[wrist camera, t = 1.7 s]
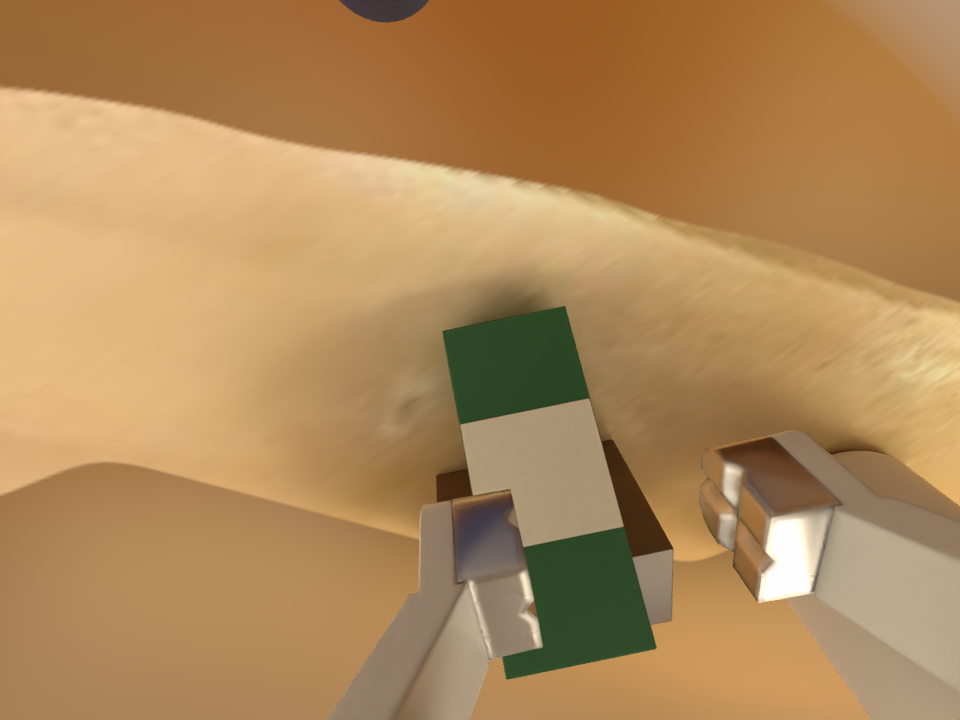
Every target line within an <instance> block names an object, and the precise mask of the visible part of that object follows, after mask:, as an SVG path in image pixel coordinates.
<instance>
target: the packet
mask: <svg viewBox="0 0 960 720" xmlns="http://www.w3.org/2000/svg"><path fill="white" fill-rule="evenodd" d="M443 338H444V343H445V349H446V354H447V360H448V365H449V371H450V376H451V381H452V387H453V392H454V398H455V403H456V409H457V414H458V420H459V425H460V431H461V436H462V441H463V447H464V452H465V458H466V463H467V469H468V474H469V480H470V485H471V491H472V496H473V495H479V494H485V493H490V492H496V491H501V490H507V489H511V493H512V498H513V502H514V506H515V511H516V516H517V521H518V526H519V529H520V534H521V539H522V543H523V548H524V553H525V558H526V563H527V567H528V572H529V577H530V582H531V587H532V591H533V596H534V603H535V608H536V612H537V617H538V622H539V628H540V633H541V639H542V644H543V647H541V648H537V649H533V650H529V651H525V652H520V653H516V654H512V655H508V656H503V657H502V659H503V665H504V670H505V676H506V679H512V678H517V677H523V676H527V675H532V674H537V673H541V672H547V671H551V670H556V669H562V668H566V667H571V666H576V665H581V664H586V663H591V662H596V661H600V660H605V659H610V658H615V657H620V656H624V655H629V654H635V653H639V652H644V651H649V650H654V649H656V644H655V640H654V636H653V632H652V629H651V625H650V621H649V617H648V614H647V610H646V606H645V603H644V599H643V595H642V591H641V588H640V584H639V580H638V576H637V573H636V569H635V565H634V561H633V558H632V554H631V550H630V547H629V543H628V539H627V535H626V532H625V528H624V524H623V520H622V517H621V513H620V509H619V505H618V502H617V498H616V494H615V491H614V487H613V483H612V479H611V476H610V472H609V468H608V464H607V461H606V457H605V453H604V450H603V446H602V442H601V438H600V435H599V431H598V427H597V423H596V420H595V416H594V412H593V408H592V405H591V401H590V397H589V394H588V390H587V386H586V382H585V379H584V375H583V371H582V367H581V364H580V360H579V356H578V352H577V349H576V345H575V341H574V338H573V334H572V330H571V326H570V323H569V319H568V315H567V311H566V308H565V306H564V307H559V308H554V309H549V310H544V311H539V312H534V313H529V314H524V315H519V316H514V317H509V318H505V319H500V320H495V321H490V322H485V323H480V324H475V325H470V326H465V327H460V328H455V329H450V330H445V331H443Z"/></svg>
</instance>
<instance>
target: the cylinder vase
mask: <svg viewBox="0 0 960 720" xmlns="http://www.w3.org/2000/svg"><path fill="white" fill-rule="evenodd" d="M832 456H833V457H834V458H836V459H837V460H838V461H839V462H840V463H842V464H843V465H844V466H845V467H846V468H847V469H849V470H850V471H851V472H852V473H853V474H854V475H856V476H857V477H858V478H859V479H860V480H862V481H863V482H864V483H865V484H866V485H867V486H869V487H870V488H871V489H872V490H873V491H874V492H876V493H877V494H878V495H879V496H880V497H886V496H894V497H897V498H900V499H902V500H905V501H908V502H910V503H913V504H916V505H919V506H921V507H924V508H927V509H929V510H932V511H935V512H937V513H940V514H943V515H946V516H948V517H951V518H954V519H956V520H959V521H960V506H959V505H958V504H956V503H955V502H954V501H952V500H951V499H950V498H948V497H947V496H946V495H944V494H943V493H942V492H940V491H939V490H938V489H936V488H935V487H934V486H932V485H931V484H930V483H928V482H927V481H926V480H924V479H923V478H922V477H920V476H919V475H918V474H916V473H915V472H914V471H912V470H911V469H910V468H908V467H907V466H906V465H904V464H903V463H902V462H900V461H899V460H897V459H895V458H893V457H891V456H888V455H886V454H882V453H878V452H872V451H847V452H841V453H836V454H832ZM784 599H785V600H786V602H787V603H788V605H789V606H790V607H791V609H792V610H793V612H794V613H795V614H796V616H797V617H798V618H799V620H800V621H801V623H802V624H803V625H804V627H805V628H806V629H807V631H808V632H809V634H810V635H811V636H812V638H813V639H814V640H815V642H816V643H817V645H818V646H819V647H820V649H821V650H822V651H823V652H824V654H825V656H826V657H827V658H828V660H829V661H830V662H831V664H832V665H833V667H834V668H835V669H836V671H837V672H838V673H839V675H840V676H841V678H842V679H843V680H844V682H845V683H846V684H847V686H848V687H849V689H850V690H851V691H852V693H853V694H854V695H855V697H856V698H857V700H858V701H859V702H860V704H861V705H862V707H863V708H864V709H865V711H866V712H867V713H868V715H869V716H870V718H871V719H872V720H957V718H958V716H959V715H960V692H958V691H957V690H955V689H953V688H952V687H950V686H949V685H947V684H946V683H944V682H943V681H941V680H940V679H938V678H937V677H935V676H934V675H932V674H931V673H929V672H928V671H926V670H925V669H923V668H922V667H920V666H919V665H917V664H916V663H914V662H913V661H911V660H910V659H908V658H907V657H905V656H903V655H902V654H900V653H899V652H897V651H896V650H894V649H893V648H891V647H890V646H888V645H887V644H885V643H884V642H882V641H881V640H879V639H878V638H876V637H875V636H873V635H872V634H870V633H869V632H867V631H866V630H864V629H863V628H861V627H860V626H858V625H856V624H855V623H853V622H852V621H850V620H849V619H847V618H846V617H844V616H843V615H841V614H840V613H838V612H837V611H835V610H834V609H832V608H831V607H829V606H828V605H826V604H825V603H823V602H822V601H820V600H819V599H817V598H816V597H814V593H812V594H806V595H800V596H795V597H789V598H784Z"/></svg>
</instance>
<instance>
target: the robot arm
mask: <svg viewBox="0 0 960 720" xmlns="http://www.w3.org/2000/svg"><path fill="white" fill-rule="evenodd" d="M701 468H702V469H703V471H704V472H705V473H706V475H707V476H708V478H707V479H706V480H705V482H704V483H703V484H702V485H701V487H700V505H701V509H702V513H703V517H704V520H705V522H706V524H707V526H708V528H709V530H710V532H711V534H712V535H713V537H714V538H715V540H716V541H717V543H718V544H720V545H722V546H724V547H725V548H727V549H729V550H731V551H733V552H734V560H733V567H734V568H735V570H736V571H737V573H738V574H739V576H740V577H741V579H742V580H743V582H744V583H745V585H746V586H747V588H748V589H749V591H750V592H751V594H752V595H753V597H755V599H756V601H757V602H758V603H760V602H766V601H772V600H777V599H783V598H789V597H795V596H800V595H806V594H812V593H814V597H816V598H817V599H819V600H820V601H822V602H823V603H825V604H826V605H828V606H829V607H831V608H832V609H834V610H835V611H837V612H838V613H840V614H841V615H843V616H844V617H846V618H847V619H849V620H850V621H852V622H853V623H855V624H856V625H858V626H860V627H861V628H863V629H864V630H866V631H867V632H869V633H870V634H872V635H873V636H875V637H876V638H878V639H879V640H881V641H882V642H884V643H885V644H887V645H888V646H890V647H891V648H893V649H894V650H896V651H897V652H899V653H900V654H902V655H903V656H905V657H907V658H908V659H910V660H911V661H913V662H914V663H916V664H917V665H919V666H920V667H922V668H923V669H925V670H926V671H928V672H929V673H931V674H932V675H934V676H935V677H937V678H938V679H940V680H941V681H943V682H944V683H946V684H947V685H949V686H950V687H952V688H953V689H955V690H957V691H958V692H960V521H959V520H956V519H954V518H951V517H948V516H946V515H943V514H940V513H937V512H935V511H932V510H929V509H927V508H924V507H921V506H919V505H916V504H913V503H910V502H908V501H905V500H902V499H900V498H897V497H894V496H886V497H880V496H879V495H878V494H877V493H876V492H874V491H873V490H872V489H871V488H870V487H869V486H867V485H866V484H865V483H864V482H863V481H862V480H860V479H859V478H858V477H857V476H856V475H854V474H853V473H852V472H851V471H850V470H849V469H847V468H846V467H845V466H844V465H843V464H842V463H840V462H839V461H838V460H837V459H836V458H834V457H833V456H832V455H831V454H830V453H829V452H827V451H826V450H825V449H824V448H823V447H822V446H820V445H819V444H818V443H817V442H816V441H815V440H813V439H812V438H811V437H810V436H809V435H807V434H806V433H805V432H803V431H800V430H797V429H793V430H789V431H784V432H780V433H775V434H771V435H766V436H764V437H758V438H753V439H748V440H744V441H739V442H734V443H730V444H725V445H720V446H716V447H711V448H706V449H705V450H704V452H703V454H702V460H701ZM541 647H543V644H542V639H541V633H540V628H539V622H538V617H537V612H536V608H535V603H534V596H533V591H532V587H531V582H530V577H529V572H528V567H527V563H526V558H525V553H524V548H523V543H522V539H521V534H520V529H519V526H518V521H517V516H516V511H515V506H514V502H513V498H512V493H511V489H507V490H501V491H496V492H490V493H485V494H479V495H473V496H468V497H462V498H457V499H452V500H450V501H444V502H438V503H433V504H427V505H422V508H421V511H420V535H419V591H418V593H413V594H409V595H408V597H407V598H406V600H405V601H404V603H403V604H402V606H401V607H400V609H399V610H398V612H397V614H396V615H395V617H394V618H393V620H392V621H391V623H390V624H389V626H388V627H387V629H386V630H385V632H384V633H383V635H382V637H381V638H380V640H379V641H378V643H377V644H376V646H375V647H374V649H373V650H372V652H371V653H370V655H369V656H368V658H367V660H366V661H365V663H364V664H363V666H362V667H361V669H360V670H359V672H358V673H357V675H356V677H355V678H354V680H353V681H352V683H351V684H350V686H349V687H348V689H347V690H346V692H345V693H344V695H343V696H342V698H341V700H340V701H339V703H338V704H337V706H336V707H335V709H334V710H333V712H332V713H331V715H330V716H329V718H328V720H469V719H470V717H471V714H472V711H473V709H474V706H475V703H476V700H477V698H478V695H479V692H480V690H481V687H482V684H483V682H484V679H485V676H486V673H487V671H488V668H489V665H490V662H489V660H491V659H495V658H499V657H503V656H508V655H512V654H516V653H520V652H525V651H529V650H533V649H537V648H541ZM957 720H960V715H959V716H958V718H957Z"/></svg>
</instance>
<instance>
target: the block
mask: <svg viewBox="0 0 960 720" xmlns="http://www.w3.org/2000/svg"><path fill="white" fill-rule="evenodd" d="M602 446H603V450H604V453H605V457H606V461H607V464H608V468H609V472H610V476H611V479H612V483H613V487H614V491H615V494H616V498H617V502H618V505H619V509H620V513H621V517H622V520H623V524H624V528H625V532H626V535H627V539H628V543H629V547H630V550H631V554H632V558H633V561H634V565H635V569H636V573H637V576H638V580H639V584H640V588H641V591H642V595H643V599H644V603H645V606H646V610H647V614H648V617H649V621H650V625H654V624H659V623H664V622H669V621H671V620H672V587H673V586H672V585H673V547H672V545H671V543H670V541H669V540H668V538H667V536H666V534H665V532H664V531H663V529H662V527H661V525H660V524H659V522H658V520H657V518H656V516H655V515H654V513H653V511H652V509H651V507H650V506H649V504H648V502H647V500H646V498H645V497H644V495H643V493H642V491H641V489H640V488H639V486H638V484H637V482H636V480H635V479H634V477H633V475H632V473H631V472H630V470H629V468H628V466H627V464H626V463H625V461H624V459H623V457H622V455H621V454H620V452H619V450H618V448H617V446H616V445H615V443H614V441H613V440H610V441H605V442H602ZM436 487H437V503H438V502H444V501H450V500H452V499H457V498H462V497H468V496H472V491H471V485H470V480H469V474H468V469H467V470H463V471H458V472H453V473H448V474H443V475H438V476H436Z"/></svg>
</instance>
